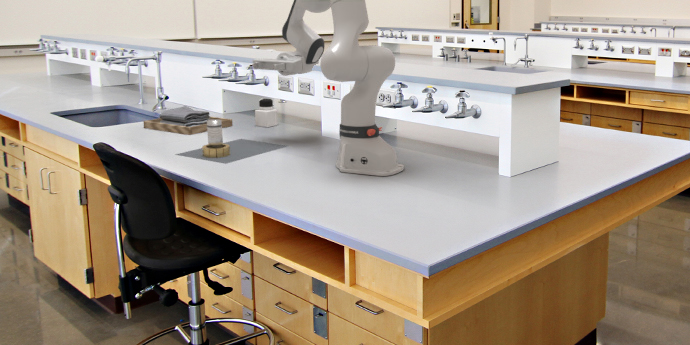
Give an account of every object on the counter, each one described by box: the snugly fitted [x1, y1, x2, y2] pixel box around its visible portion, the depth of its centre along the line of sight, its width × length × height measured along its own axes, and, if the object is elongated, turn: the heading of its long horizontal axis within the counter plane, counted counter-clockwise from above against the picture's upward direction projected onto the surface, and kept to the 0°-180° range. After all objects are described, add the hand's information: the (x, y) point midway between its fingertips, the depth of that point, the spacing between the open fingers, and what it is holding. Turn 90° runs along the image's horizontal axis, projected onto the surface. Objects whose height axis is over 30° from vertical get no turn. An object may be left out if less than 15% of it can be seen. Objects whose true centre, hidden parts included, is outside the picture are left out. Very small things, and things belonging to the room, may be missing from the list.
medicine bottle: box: [254, 98, 278, 128], centre depth 274 cm, size 7×7×12 cm
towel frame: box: [142, 116, 233, 136], centre depth 271 cm, size 28×25×3 cm
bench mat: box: [175, 138, 288, 165], centre depth 224 cm, size 24×34×1 cm
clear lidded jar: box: [206, 119, 224, 148], centre depth 215 cm, size 5×5×12 cm
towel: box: [159, 105, 211, 127], centre depth 274 cm, size 15×18×8 cm
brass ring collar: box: [201, 143, 230, 158], centre depth 216 cm, size 9×9×3 cm
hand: (263, 66), depth 225 cm, fingers open, 8 cm apart
